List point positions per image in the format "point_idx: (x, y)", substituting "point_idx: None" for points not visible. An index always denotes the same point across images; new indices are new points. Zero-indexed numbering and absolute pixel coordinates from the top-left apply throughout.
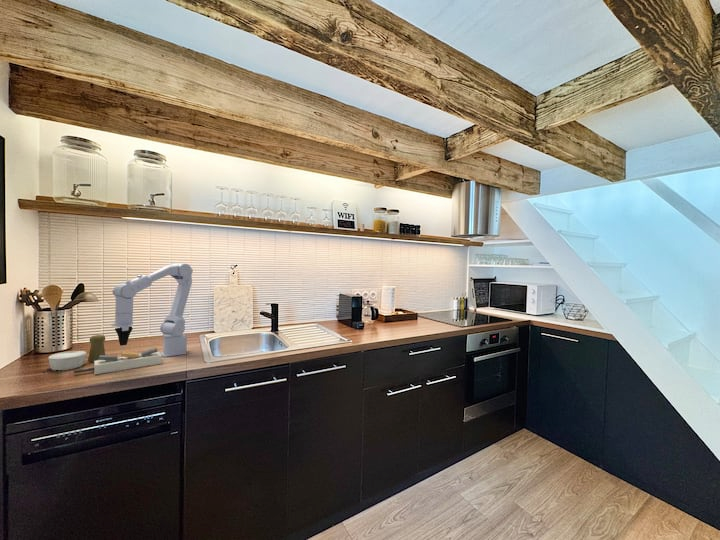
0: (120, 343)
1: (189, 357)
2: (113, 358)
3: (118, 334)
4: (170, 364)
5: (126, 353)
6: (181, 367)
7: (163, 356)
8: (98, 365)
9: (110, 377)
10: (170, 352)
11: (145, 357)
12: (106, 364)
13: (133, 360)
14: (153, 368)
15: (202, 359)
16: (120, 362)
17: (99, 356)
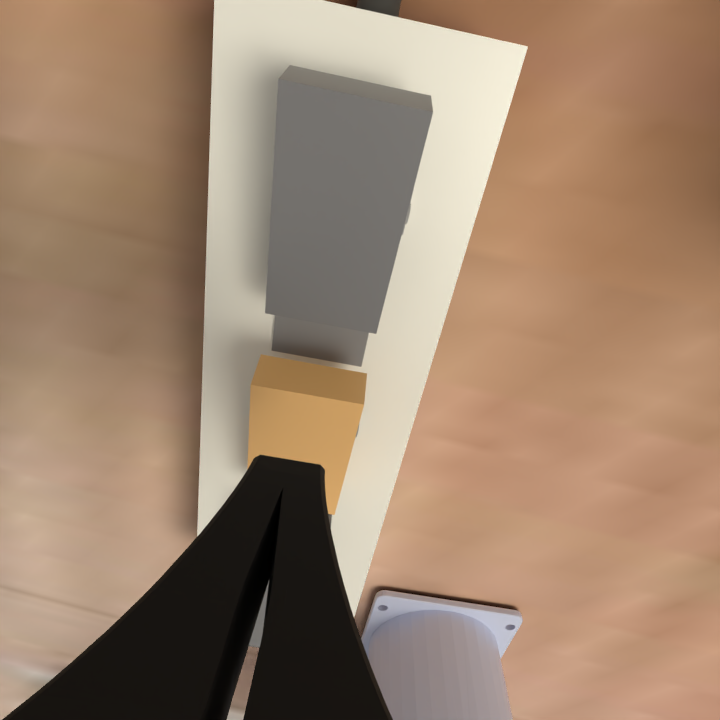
0: (237, 488)
1: (247, 662)
2: (270, 262)
3: (21, 715)
4: (149, 557)
5: (281, 423)
6: (25, 572)
7: (385, 592)
8: (216, 39)
9: (19, 123)
10: (378, 649)
11: (217, 507)
12: (213, 147)
13: (205, 412)
14: (112, 461)
15: None
16: (207, 300)
17: (422, 102)
